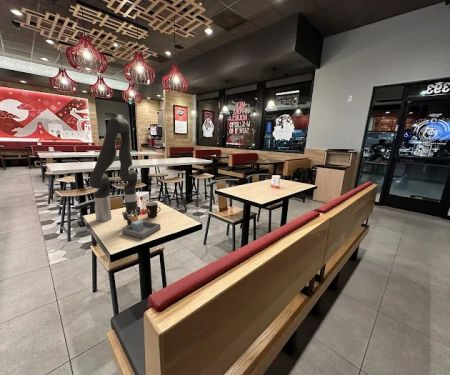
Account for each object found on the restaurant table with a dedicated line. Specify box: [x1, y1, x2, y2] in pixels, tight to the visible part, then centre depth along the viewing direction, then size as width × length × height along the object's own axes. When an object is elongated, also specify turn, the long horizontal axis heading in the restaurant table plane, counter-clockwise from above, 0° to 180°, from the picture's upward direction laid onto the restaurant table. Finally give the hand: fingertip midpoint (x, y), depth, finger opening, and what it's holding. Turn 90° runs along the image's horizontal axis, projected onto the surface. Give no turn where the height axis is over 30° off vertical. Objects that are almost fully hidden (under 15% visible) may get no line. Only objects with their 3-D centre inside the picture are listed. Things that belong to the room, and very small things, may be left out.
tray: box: [121, 219, 161, 240], centre depth 136 cm, size 16×16×4 cm
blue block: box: [131, 219, 144, 232], centre depth 137 cm, size 5×5×5 cm
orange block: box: [126, 215, 139, 226], centre depth 146 cm, size 5×5×5 cm
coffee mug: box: [145, 201, 162, 219], centre depth 160 cm, size 12×9×10 cm
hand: (132, 223), depth 146 cm, fingers closed on orange block, 5 cm apart
